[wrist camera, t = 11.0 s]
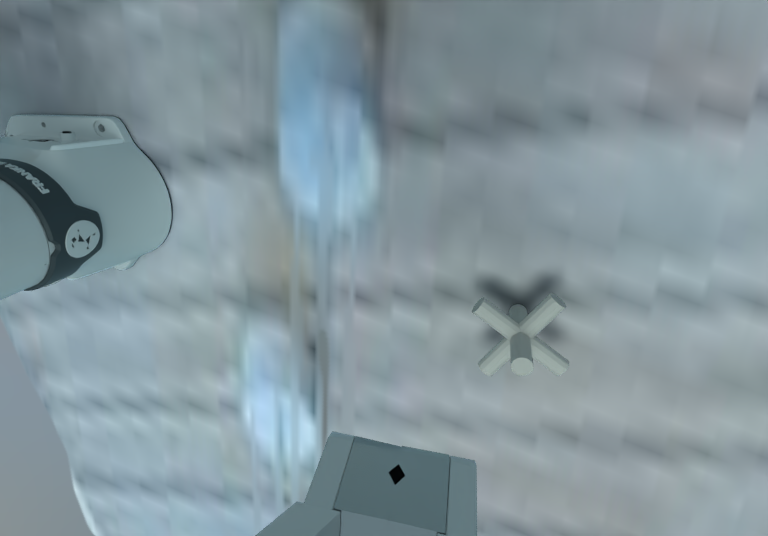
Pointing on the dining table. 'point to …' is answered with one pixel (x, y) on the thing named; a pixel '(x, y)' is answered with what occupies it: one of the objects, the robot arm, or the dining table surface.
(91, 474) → the dining table surface
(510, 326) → the pipe connector
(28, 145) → the robot arm
